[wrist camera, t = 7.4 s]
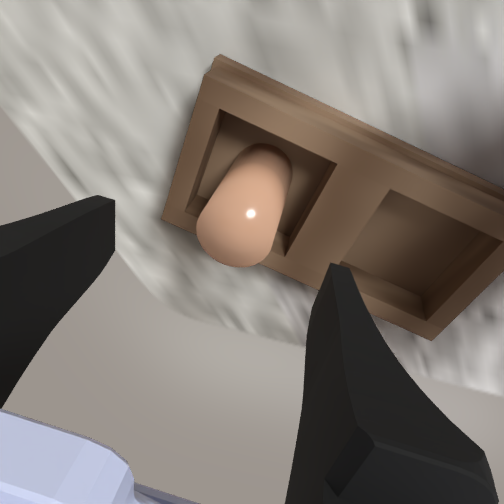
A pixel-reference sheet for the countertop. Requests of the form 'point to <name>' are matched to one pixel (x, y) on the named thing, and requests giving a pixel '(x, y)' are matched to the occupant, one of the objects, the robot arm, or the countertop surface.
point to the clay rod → (246, 207)
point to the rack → (348, 200)
